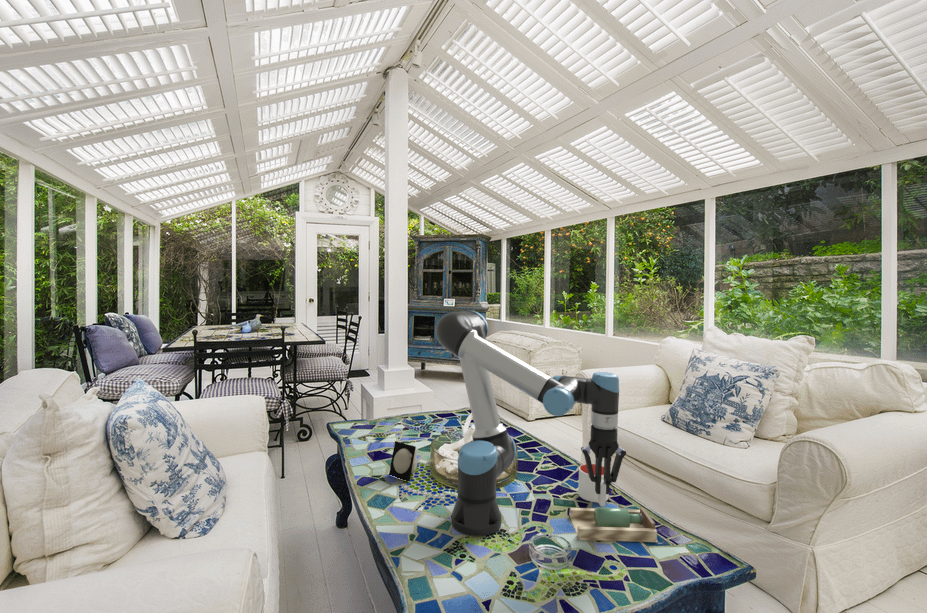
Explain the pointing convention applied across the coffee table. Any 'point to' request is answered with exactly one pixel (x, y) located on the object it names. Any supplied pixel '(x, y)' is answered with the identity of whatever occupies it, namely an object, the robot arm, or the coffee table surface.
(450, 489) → the coffee table surface
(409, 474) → the decorative object
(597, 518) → the bottle
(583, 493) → the cup
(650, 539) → the wooden tray
